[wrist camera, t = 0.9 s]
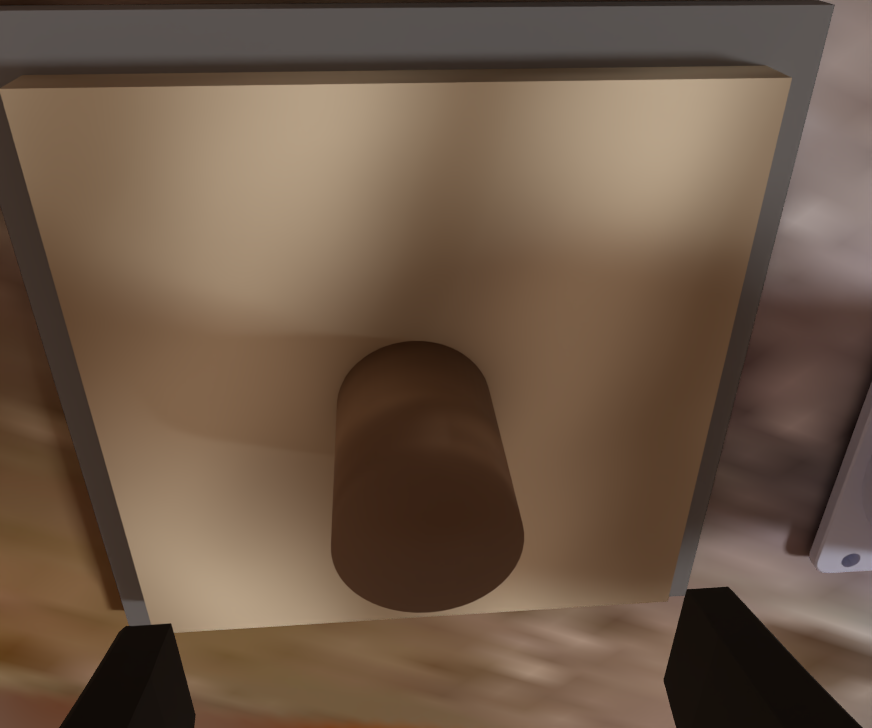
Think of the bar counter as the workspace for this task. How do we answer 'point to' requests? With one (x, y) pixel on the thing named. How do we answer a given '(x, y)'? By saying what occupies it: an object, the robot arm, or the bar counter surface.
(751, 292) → the tray
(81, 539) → the bar counter surface
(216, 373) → the lid
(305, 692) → the bar counter surface
